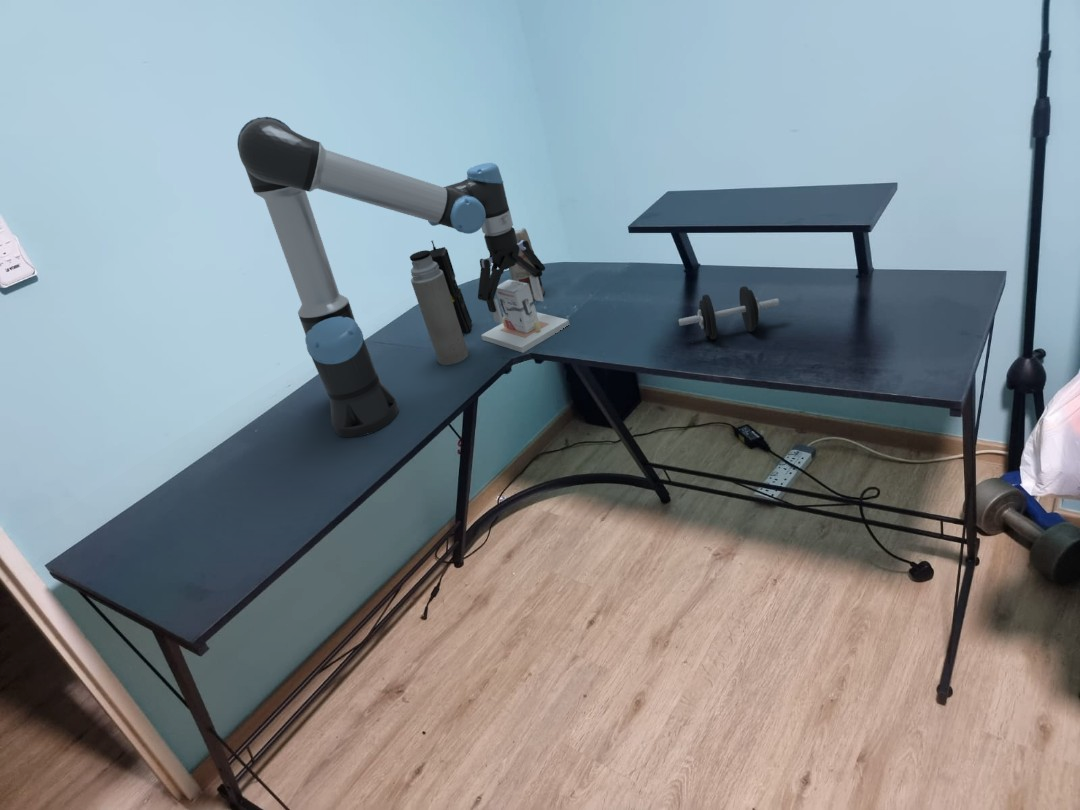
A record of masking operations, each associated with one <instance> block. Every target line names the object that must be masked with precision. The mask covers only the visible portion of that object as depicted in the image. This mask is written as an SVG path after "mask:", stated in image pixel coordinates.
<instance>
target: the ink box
mask: <svg viewBox="0 0 1080 810" xmlns="http://www.w3.org/2000/svg"><path fill="white" fill-rule="evenodd" d="M495 294H496V295H497V300H498V303H499V307H500V310H501V313H502V315H503V316H502V317H504V319H505V322H506V325H507V328H510V329H514V330H517V331H521V332H524V333H528V332H530V331H532V330H533V329H535V325H534V322H537V321H538V322H539V320H538V316H537V313H536V312H537V310H536V306H535V302H534V299H533V298H532V295H531V291H530V287H529V285H528V284H527V283H524V282H519V281H515V280H512V279H507V280H505V281H502V282H501V283H500V284H498V287H497V290H496V293H495ZM539 325H540V324H539Z"/></svg>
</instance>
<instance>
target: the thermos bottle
mask: <svg viewBox="0 0 1080 810" xmlns="http://www.w3.org/2000/svg"><path fill="white" fill-rule="evenodd" d="M430 251H431V250H425V249H424V250H420V251H417V252H414V253H412V254H411V255H410V256H409V259H410V261H411V264H412V268H411V269H410V273H411V274H410V275H411V279H410V283H411V285H412V288H413V292H414V295H415V298H416V300H417V302H418V305H419V309H420V312H421V316H422V318H423V321H424V324H425V326H426V329H427V332H428V335H429V338H430V339H429V340H430V341H431V344H432V348H433V350H434V353H435V356H436V358H437V361H438V364H440V365H444V366H447V365H448V366H449V365H454V364H457V363H460V362H462V361H464V360H465V359H466V358H468V356H469V351H468V346H467V344H466V341H465V338H464V334H462V331H461V327H460V324H459V321H458V318H457V315H456V312H455V309H454V305H453V302H452V299H451V296H450V292H449V289H448V286H447V283H446V280H445V276H444V273H443V271H442V270H440V269H439V265H438V264H437V263H436V262H434V261H433V260H432V257H431V256H430Z"/></svg>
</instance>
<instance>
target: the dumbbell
mask: <svg viewBox="0 0 1080 810" xmlns="http://www.w3.org/2000/svg"><path fill="white" fill-rule="evenodd" d="M738 297H739V306H736V307H732V308H726V309H722V310H718V311H717V310H716V311H715V310H714V306H713V303H712V299H711V298H710V296H709V294H703V295H702V296H701V300H699V302H698V303H699V308H698V309H697V315H691V316H688V317H683V318H679V319H678V320H677V321H678V325H679V326H682V327H683V326H686V325H692V324H697V323H698V324H699V326H700V328H701V330H703V332H704V334H705V336H706V337H709V339H710V340H716V339H717V337H718V336H717V335H718V329H717V328H718V327H717V321H716V319H717V318H719V319H720V318H723V317H728V316H733V315H738V314H741V317H742V319H743V322H744V323H743V324H744V326H745V328H746V330H747V331H748V332H751V333H752V332H754V331H755V330H756V327H757V326H758V325H759V318H760V317H761V316H760V310H765V309H769V308H772V307H779V305H780V301H779V298H772V299H767V300H762V301H759V300H758V298H757V297H756V296H755V294H754V292H753V290H752V289H749V287H748V286H746V285H745V286H744V285H743V286H742V287H740V288H739V296H738ZM758 301H759V302H758Z"/></svg>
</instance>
